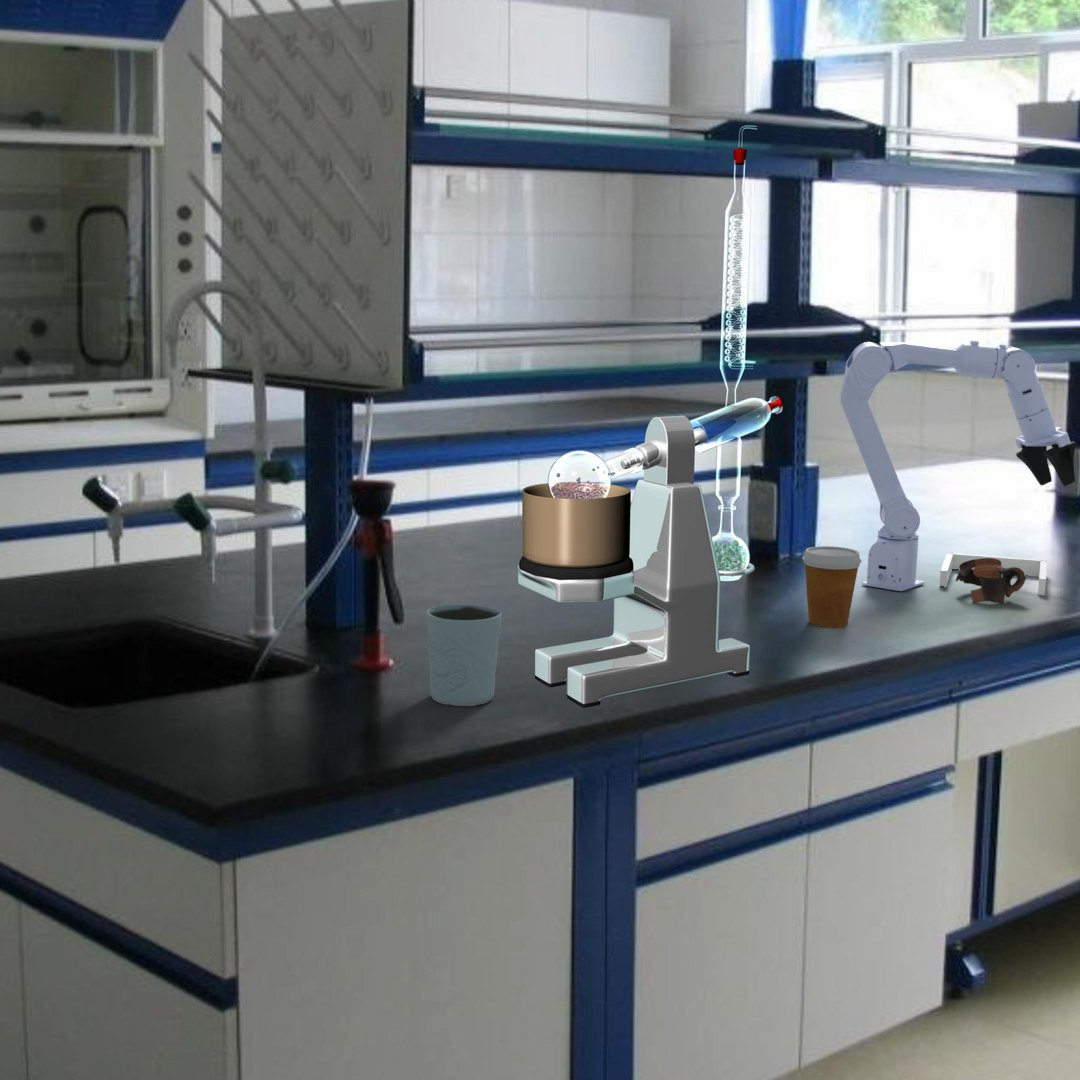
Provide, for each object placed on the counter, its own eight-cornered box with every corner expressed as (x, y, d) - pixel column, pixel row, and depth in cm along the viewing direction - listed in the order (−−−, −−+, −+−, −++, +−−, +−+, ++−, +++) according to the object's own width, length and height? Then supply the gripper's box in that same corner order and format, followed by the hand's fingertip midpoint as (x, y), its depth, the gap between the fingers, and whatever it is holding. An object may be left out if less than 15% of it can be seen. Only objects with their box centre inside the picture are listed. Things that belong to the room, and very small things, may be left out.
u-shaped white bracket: (1044, 595, 317) (1046, 579, 317) (939, 586, 322) (940, 570, 322) (1045, 575, 334) (1047, 560, 334) (946, 567, 339) (947, 552, 339)
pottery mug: (955, 604, 310) (949, 560, 313) (965, 618, 319) (960, 575, 321) (1025, 594, 306) (1019, 548, 309) (1034, 608, 314) (1028, 564, 317)
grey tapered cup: (426, 708, 236) (428, 620, 234) (423, 687, 246) (424, 603, 244) (502, 708, 237) (505, 620, 235) (496, 687, 247) (498, 603, 245)
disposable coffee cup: (813, 631, 285) (818, 557, 283) (789, 617, 294) (793, 546, 292) (867, 628, 288) (872, 556, 286) (841, 615, 297) (846, 545, 295)
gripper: (1073, 402, 309) (1099, 474, 311) (1029, 405, 323) (1054, 474, 325) (1039, 418, 307) (1065, 490, 309) (996, 420, 321) (1022, 489, 323)
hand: (1057, 483), depth 317 cm, fingers open, 7 cm apart
